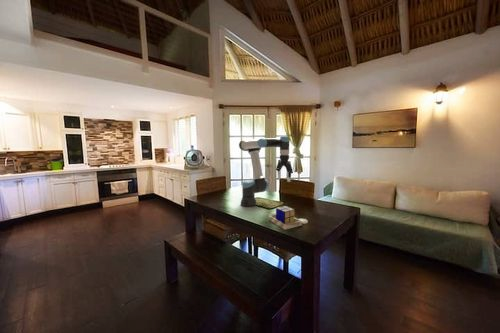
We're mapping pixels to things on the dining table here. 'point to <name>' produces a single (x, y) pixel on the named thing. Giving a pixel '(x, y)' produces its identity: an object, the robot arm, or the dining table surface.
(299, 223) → the light wood tray
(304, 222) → the white round disc
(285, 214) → the puzzle cube
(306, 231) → the dining table surface
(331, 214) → the dining table surface
